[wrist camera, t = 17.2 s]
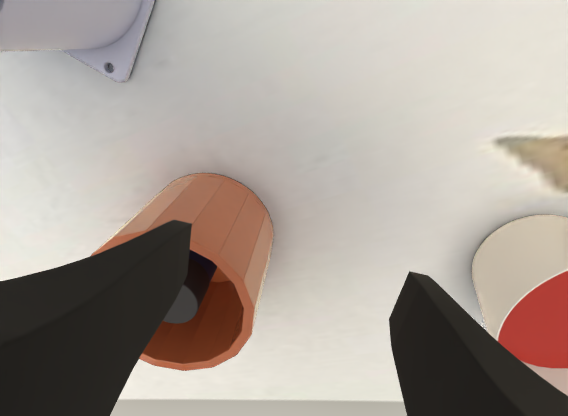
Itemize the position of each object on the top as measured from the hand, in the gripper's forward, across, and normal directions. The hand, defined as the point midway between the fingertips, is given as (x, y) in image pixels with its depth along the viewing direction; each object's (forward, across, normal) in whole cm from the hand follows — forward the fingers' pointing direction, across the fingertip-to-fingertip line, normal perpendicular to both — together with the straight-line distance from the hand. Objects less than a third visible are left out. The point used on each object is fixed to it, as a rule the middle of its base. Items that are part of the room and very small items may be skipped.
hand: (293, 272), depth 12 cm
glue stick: (+10, +5, +6) cm, 12 cm away
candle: (+11, -15, +3) cm, 18 cm away
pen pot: (+10, +5, +6) cm, 13 cm away
